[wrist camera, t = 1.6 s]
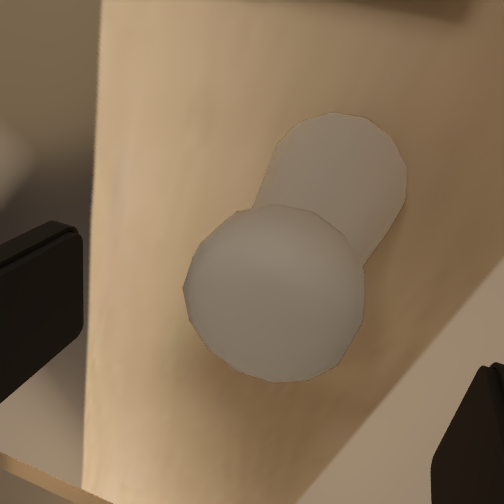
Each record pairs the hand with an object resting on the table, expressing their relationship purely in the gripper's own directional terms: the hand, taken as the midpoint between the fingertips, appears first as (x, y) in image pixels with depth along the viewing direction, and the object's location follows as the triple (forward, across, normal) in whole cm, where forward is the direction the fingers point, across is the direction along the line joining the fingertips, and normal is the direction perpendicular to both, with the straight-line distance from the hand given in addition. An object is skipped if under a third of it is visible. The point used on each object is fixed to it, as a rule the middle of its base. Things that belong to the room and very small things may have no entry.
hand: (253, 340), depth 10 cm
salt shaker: (+13, 0, -1) cm, 13 cm away
